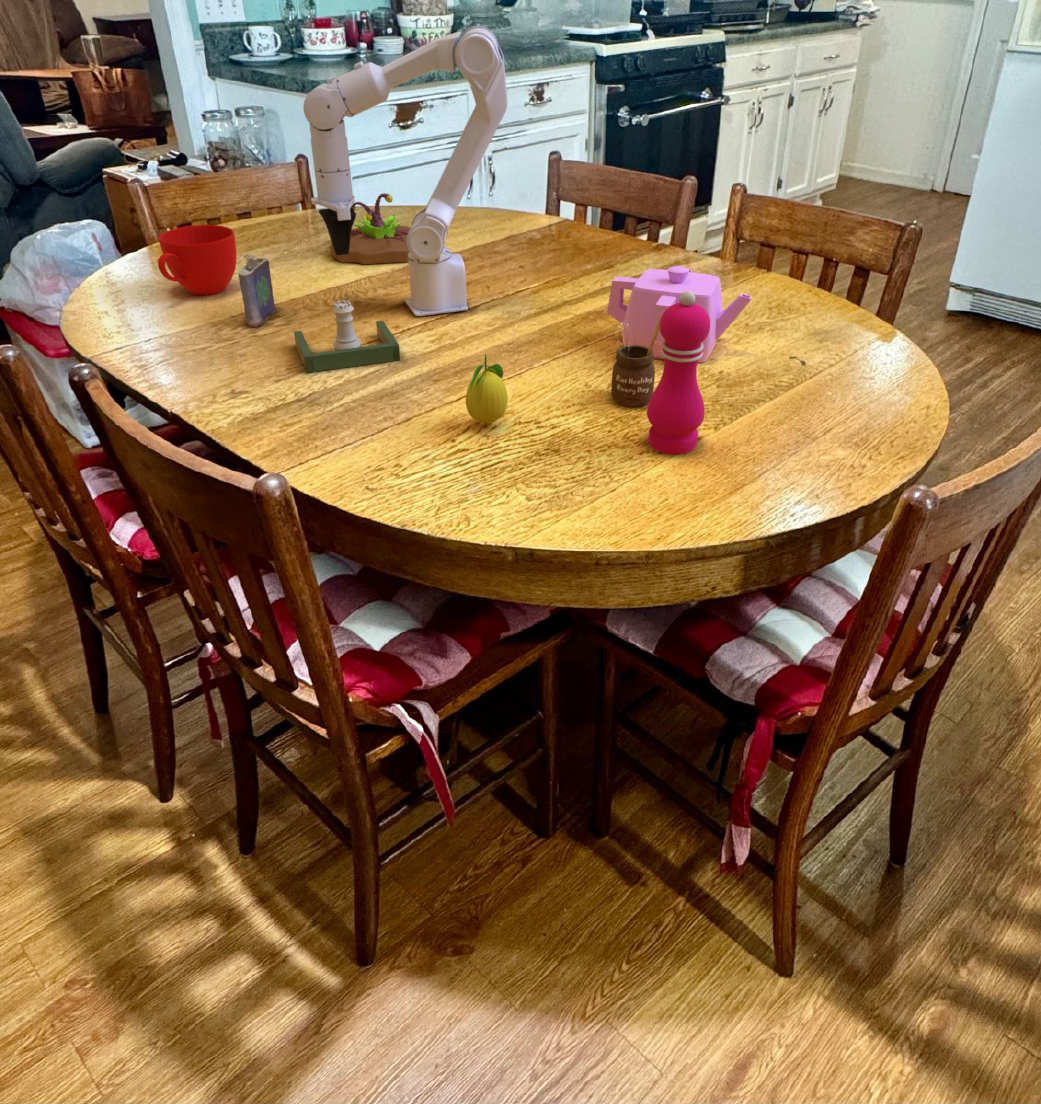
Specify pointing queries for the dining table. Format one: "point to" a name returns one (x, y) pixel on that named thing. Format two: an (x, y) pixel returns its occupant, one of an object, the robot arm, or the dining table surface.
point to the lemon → (487, 394)
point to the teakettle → (669, 304)
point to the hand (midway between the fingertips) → (341, 253)
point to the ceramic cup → (199, 257)
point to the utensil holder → (633, 373)
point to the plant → (376, 238)
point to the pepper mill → (679, 378)
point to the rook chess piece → (345, 327)
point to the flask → (256, 290)
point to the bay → (349, 353)
